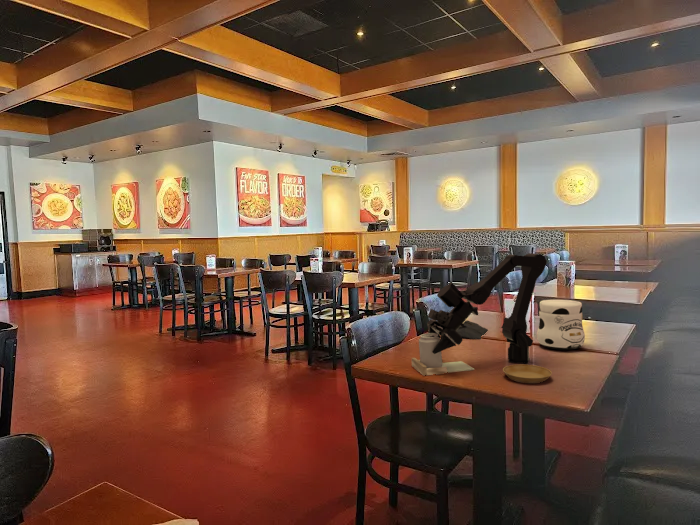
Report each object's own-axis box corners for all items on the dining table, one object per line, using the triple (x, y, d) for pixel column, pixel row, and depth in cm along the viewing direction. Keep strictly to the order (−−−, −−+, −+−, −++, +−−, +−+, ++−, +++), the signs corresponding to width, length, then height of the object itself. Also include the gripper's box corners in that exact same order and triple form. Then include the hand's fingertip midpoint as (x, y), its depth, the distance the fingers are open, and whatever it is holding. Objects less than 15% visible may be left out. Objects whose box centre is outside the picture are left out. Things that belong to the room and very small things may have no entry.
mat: (461, 362, 176) (461, 361, 176) (474, 369, 166) (474, 368, 166) (435, 364, 174) (435, 363, 174) (446, 372, 164) (446, 371, 164)
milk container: (579, 355, 180) (579, 307, 179) (531, 349, 191) (531, 303, 190) (589, 345, 194) (589, 300, 193) (544, 340, 205) (543, 298, 203)
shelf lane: (434, 364, 174) (433, 355, 174) (447, 373, 163) (447, 364, 163) (411, 366, 173) (411, 357, 173) (423, 375, 161) (423, 366, 161)
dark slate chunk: (446, 338, 215) (446, 328, 215) (456, 329, 235) (456, 319, 234) (481, 341, 209) (481, 330, 208) (489, 330, 228) (489, 320, 228)
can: (442, 372, 164) (439, 337, 163) (420, 372, 165) (417, 337, 164) (442, 365, 171) (440, 331, 170) (421, 365, 172) (418, 332, 172)
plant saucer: (558, 377, 156) (558, 369, 156) (541, 389, 145) (541, 380, 145) (514, 369, 166) (514, 361, 166) (495, 380, 155) (495, 372, 155)
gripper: (432, 297, 176) (403, 329, 175) (453, 304, 158) (421, 340, 157) (452, 317, 179) (424, 349, 177) (475, 327, 160) (445, 362, 159)
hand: (428, 349), depth 167 cm, fingers open, 9 cm apart
